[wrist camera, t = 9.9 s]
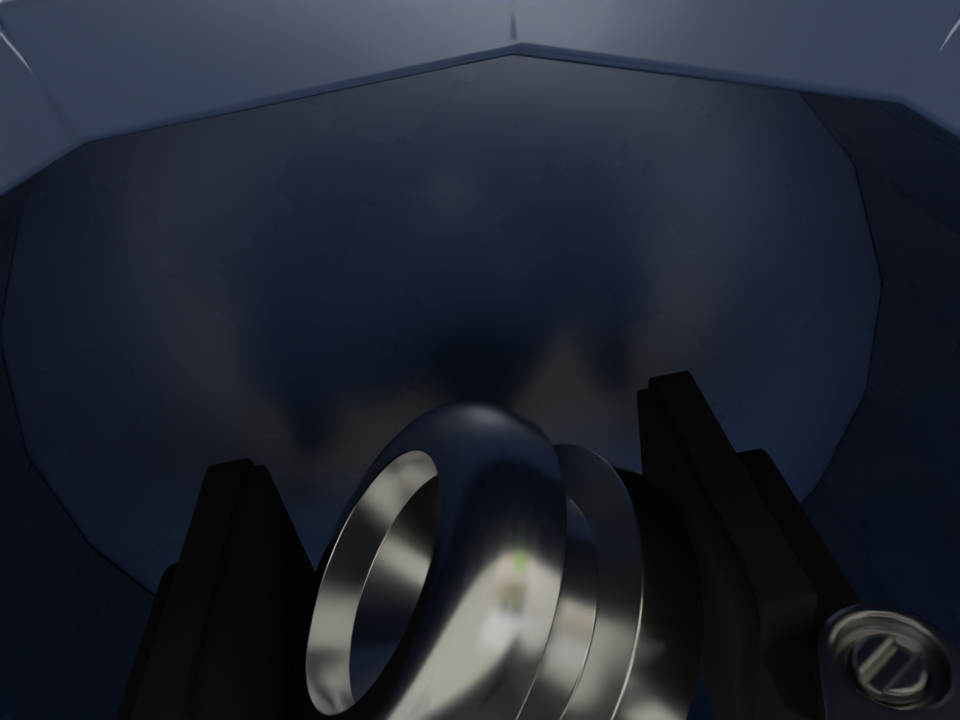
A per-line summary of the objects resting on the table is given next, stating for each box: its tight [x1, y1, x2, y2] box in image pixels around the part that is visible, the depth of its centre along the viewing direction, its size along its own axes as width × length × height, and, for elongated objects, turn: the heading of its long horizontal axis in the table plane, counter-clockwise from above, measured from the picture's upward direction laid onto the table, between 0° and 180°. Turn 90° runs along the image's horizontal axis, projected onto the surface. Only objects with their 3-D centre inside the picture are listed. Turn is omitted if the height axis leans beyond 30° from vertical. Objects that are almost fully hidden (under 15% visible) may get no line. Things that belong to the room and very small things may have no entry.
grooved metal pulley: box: [289, 400, 703, 720], centre depth 9 cm, size 5×3×5 cm, turn 146°
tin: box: [0, 0, 960, 720], centre depth 10 cm, size 15×15×6 cm
